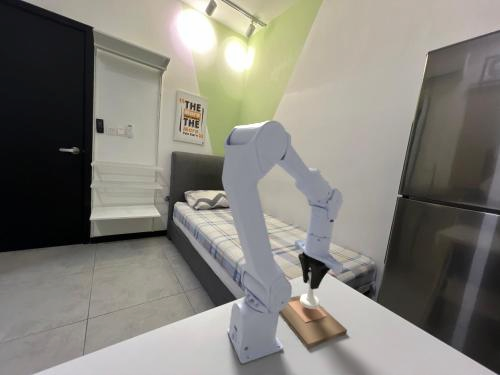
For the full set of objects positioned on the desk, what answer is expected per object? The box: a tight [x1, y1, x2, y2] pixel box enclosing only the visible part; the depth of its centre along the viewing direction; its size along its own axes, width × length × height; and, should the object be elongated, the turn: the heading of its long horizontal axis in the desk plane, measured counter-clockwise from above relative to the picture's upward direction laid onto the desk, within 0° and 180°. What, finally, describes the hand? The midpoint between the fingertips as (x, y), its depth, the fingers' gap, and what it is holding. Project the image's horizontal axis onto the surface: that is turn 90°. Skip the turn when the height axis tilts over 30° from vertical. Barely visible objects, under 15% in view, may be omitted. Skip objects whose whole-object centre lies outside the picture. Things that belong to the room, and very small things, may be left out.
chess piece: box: [300, 267, 321, 309], centre depth 51 cm, size 5×5×10 cm
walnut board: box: [279, 294, 348, 349], centre depth 50 cm, size 12×14×1 cm
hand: (310, 285), depth 51 cm, fingers closed on chess piece
